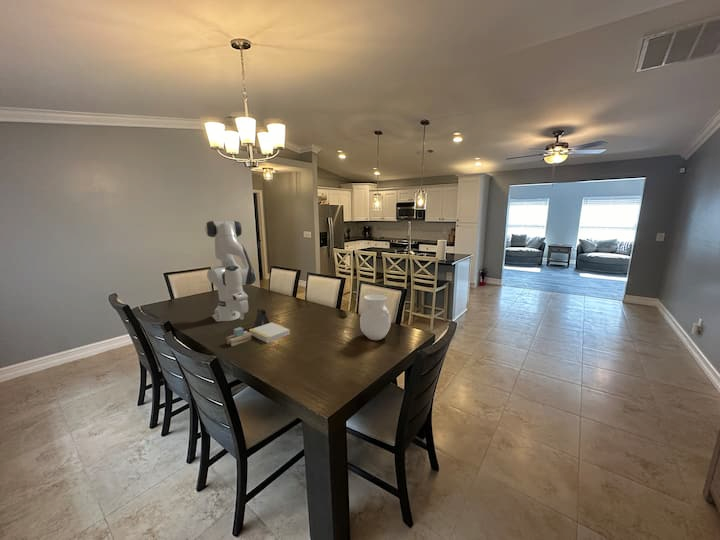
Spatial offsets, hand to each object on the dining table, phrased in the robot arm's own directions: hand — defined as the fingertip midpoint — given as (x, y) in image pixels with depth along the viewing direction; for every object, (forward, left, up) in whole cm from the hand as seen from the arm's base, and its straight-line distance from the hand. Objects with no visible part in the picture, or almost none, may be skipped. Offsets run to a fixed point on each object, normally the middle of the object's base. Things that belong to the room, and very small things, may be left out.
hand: (237, 317), depth 165 cm
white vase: (+59, +55, -15) cm, 82 cm away
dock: (+5, +17, -15) cm, 23 cm away
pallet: (0, 0, -15) cm, 15 cm away
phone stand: (-10, +21, -15) cm, 28 cm away
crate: (0, 0, -11) cm, 11 cm away
